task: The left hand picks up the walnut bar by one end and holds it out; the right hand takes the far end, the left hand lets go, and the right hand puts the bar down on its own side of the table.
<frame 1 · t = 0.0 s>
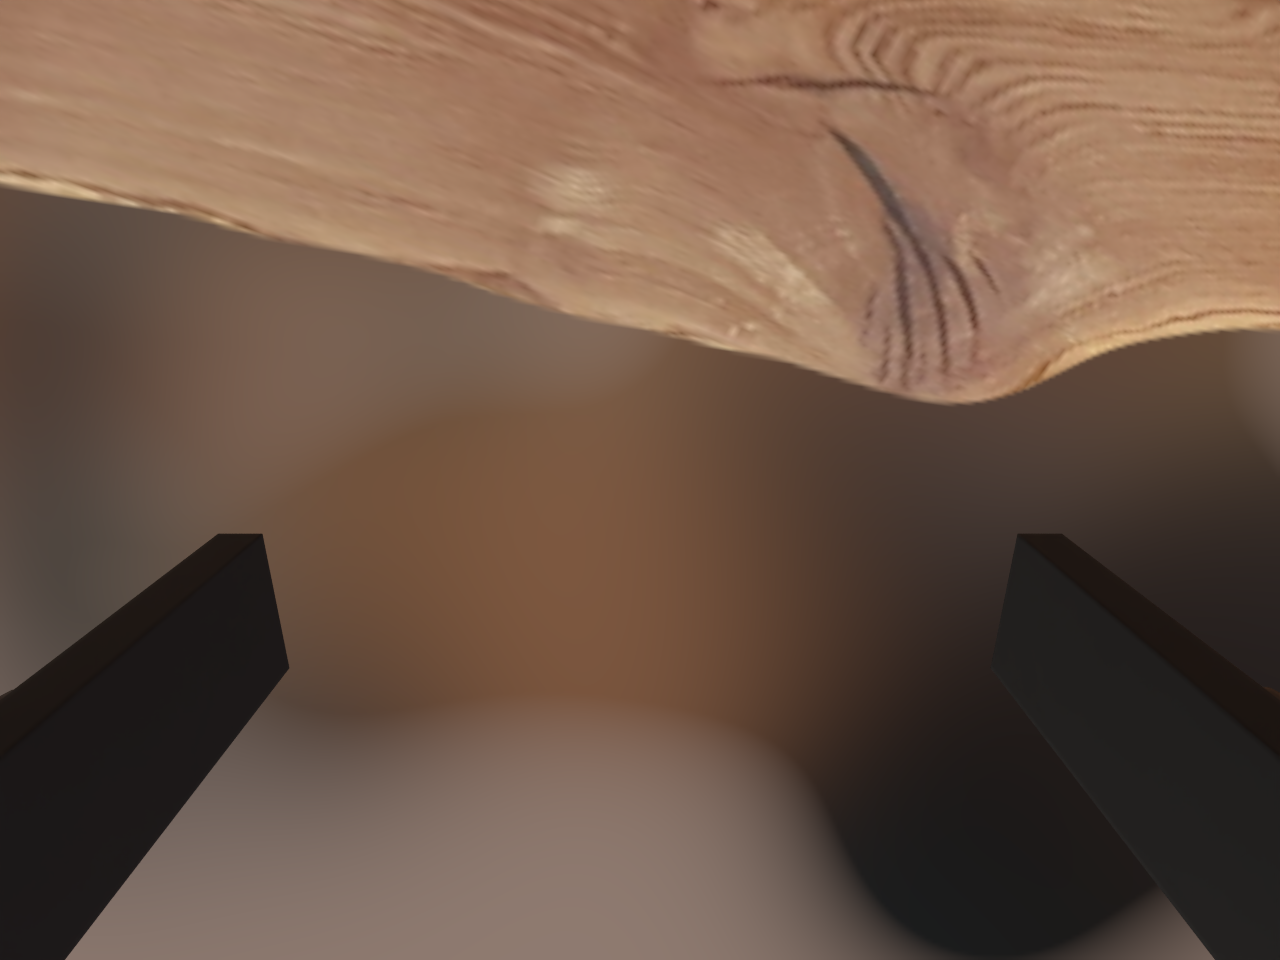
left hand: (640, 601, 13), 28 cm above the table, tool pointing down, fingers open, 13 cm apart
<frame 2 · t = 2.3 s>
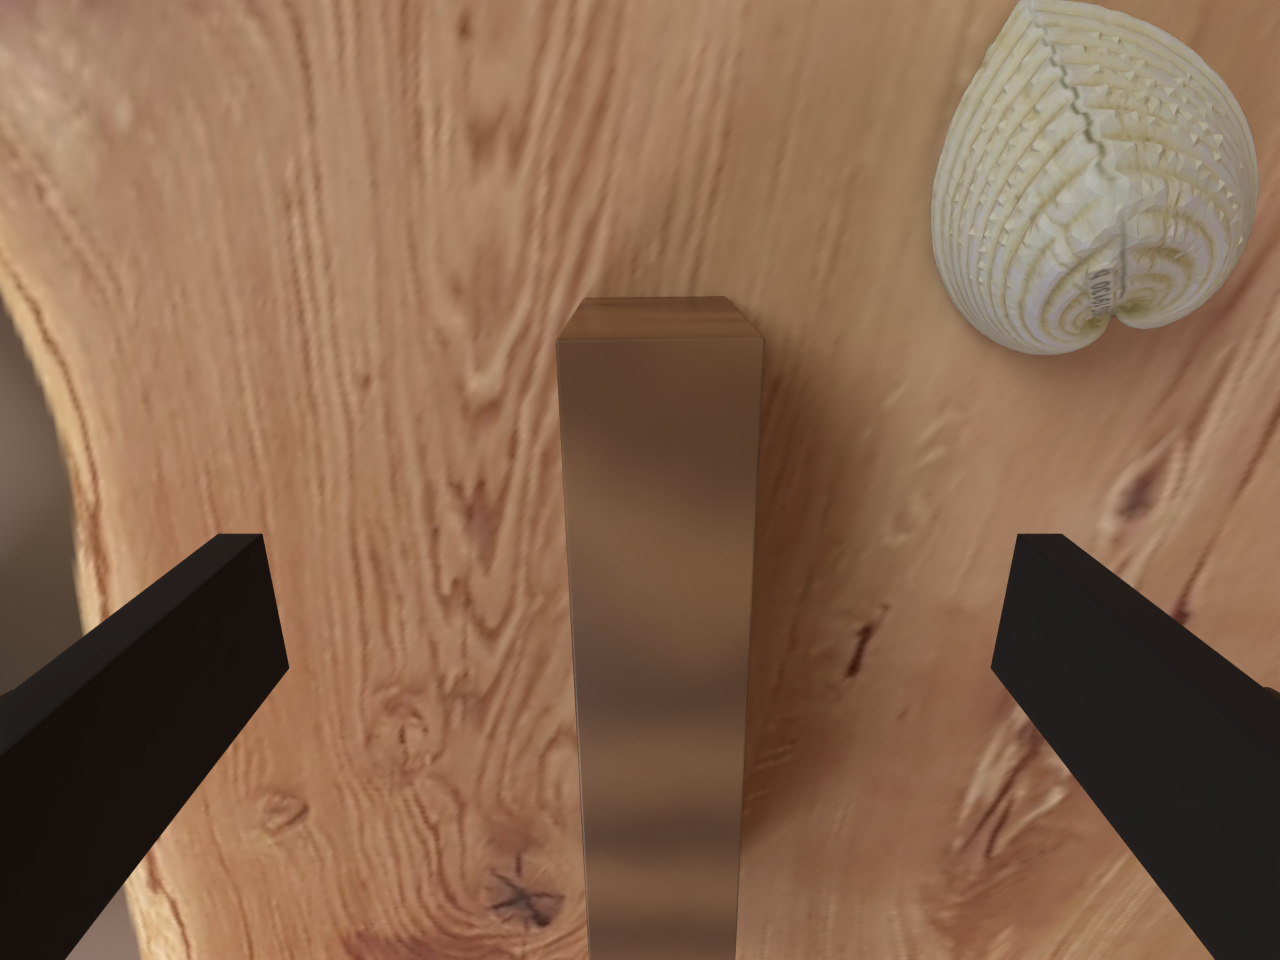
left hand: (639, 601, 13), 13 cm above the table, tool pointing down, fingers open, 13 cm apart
seashell: (1052, 197, 23), on the table
bar: (656, 636, 28), on the table
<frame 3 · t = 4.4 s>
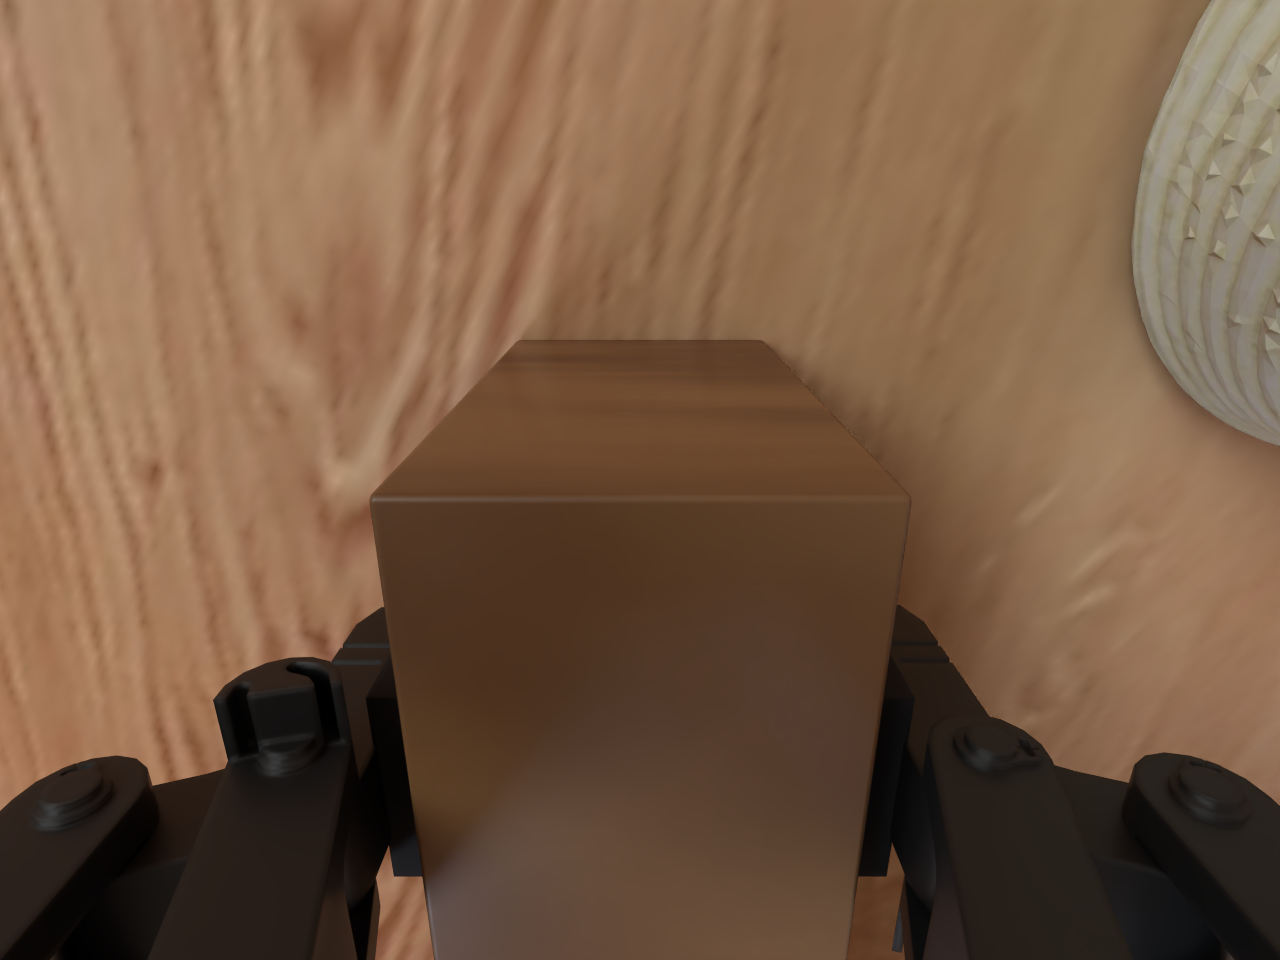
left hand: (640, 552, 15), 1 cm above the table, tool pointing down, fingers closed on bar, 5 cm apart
bar: (640, 854, 18), on the table, touching left hand
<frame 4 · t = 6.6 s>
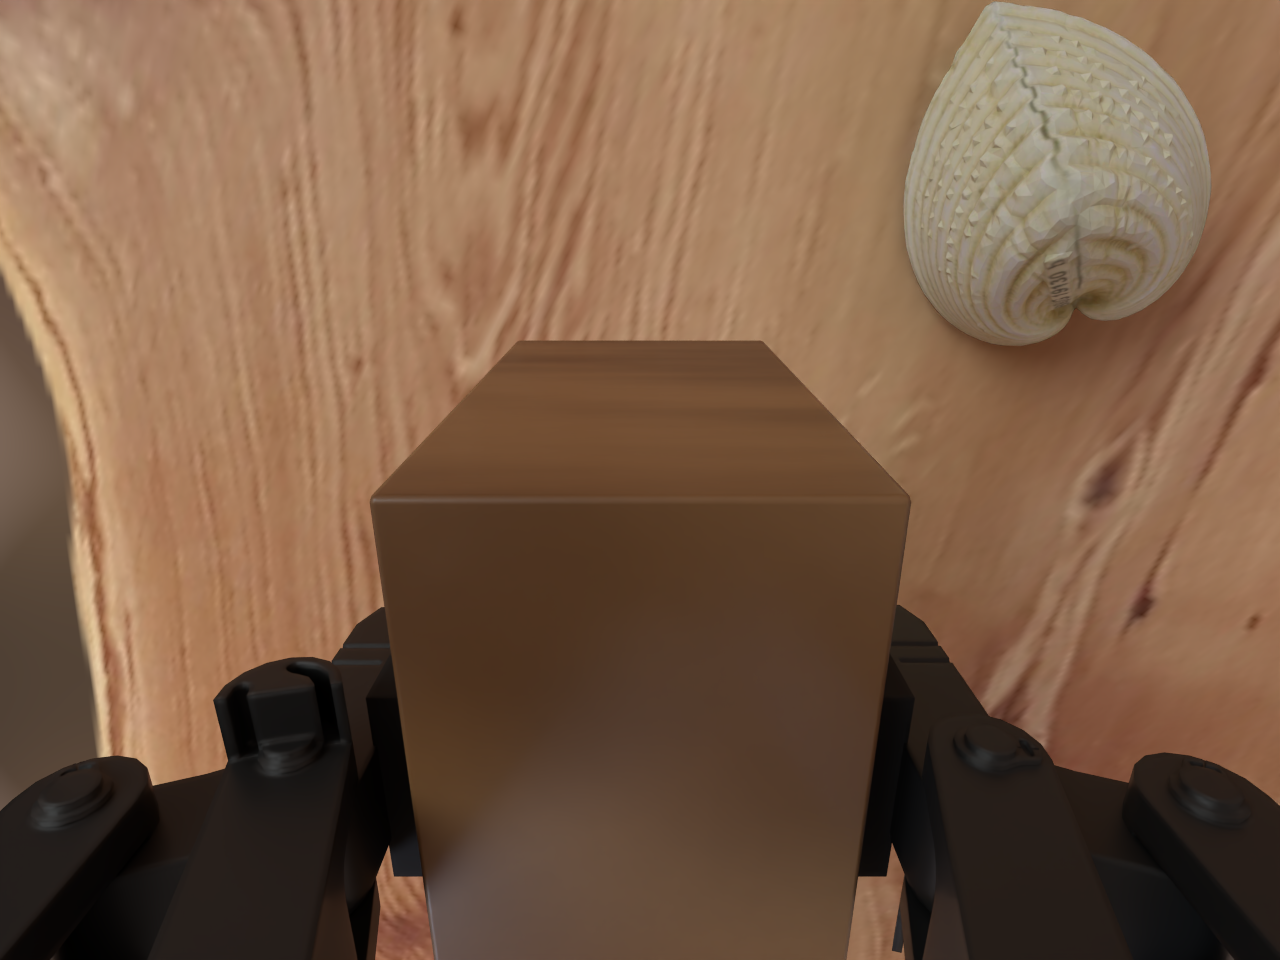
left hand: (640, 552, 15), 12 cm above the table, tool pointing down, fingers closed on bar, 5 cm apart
seashell: (1019, 194, 24), on the table
bar: (640, 854, 18), point 12 cm above the table, touching left hand
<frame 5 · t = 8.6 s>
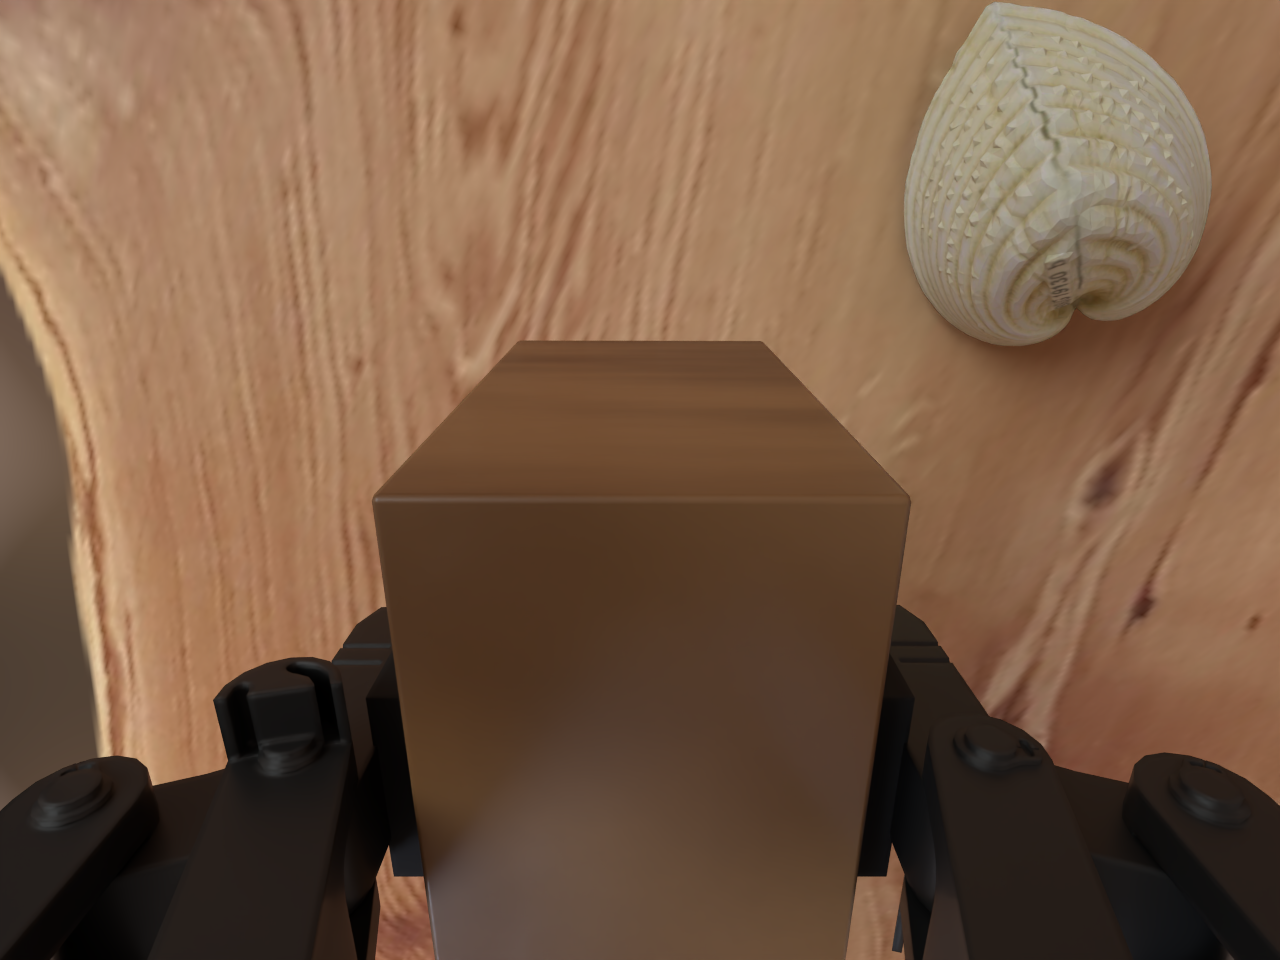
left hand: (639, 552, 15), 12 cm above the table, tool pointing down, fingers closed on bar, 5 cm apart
seashell: (1020, 194, 24), on the table
bar: (639, 853, 18), point 11 cm above the table, touching left hand, right hand
when the left hand's fingers open (12 cm above the table, at t = 9.3 s): bar stays where it is, held by the right hand.
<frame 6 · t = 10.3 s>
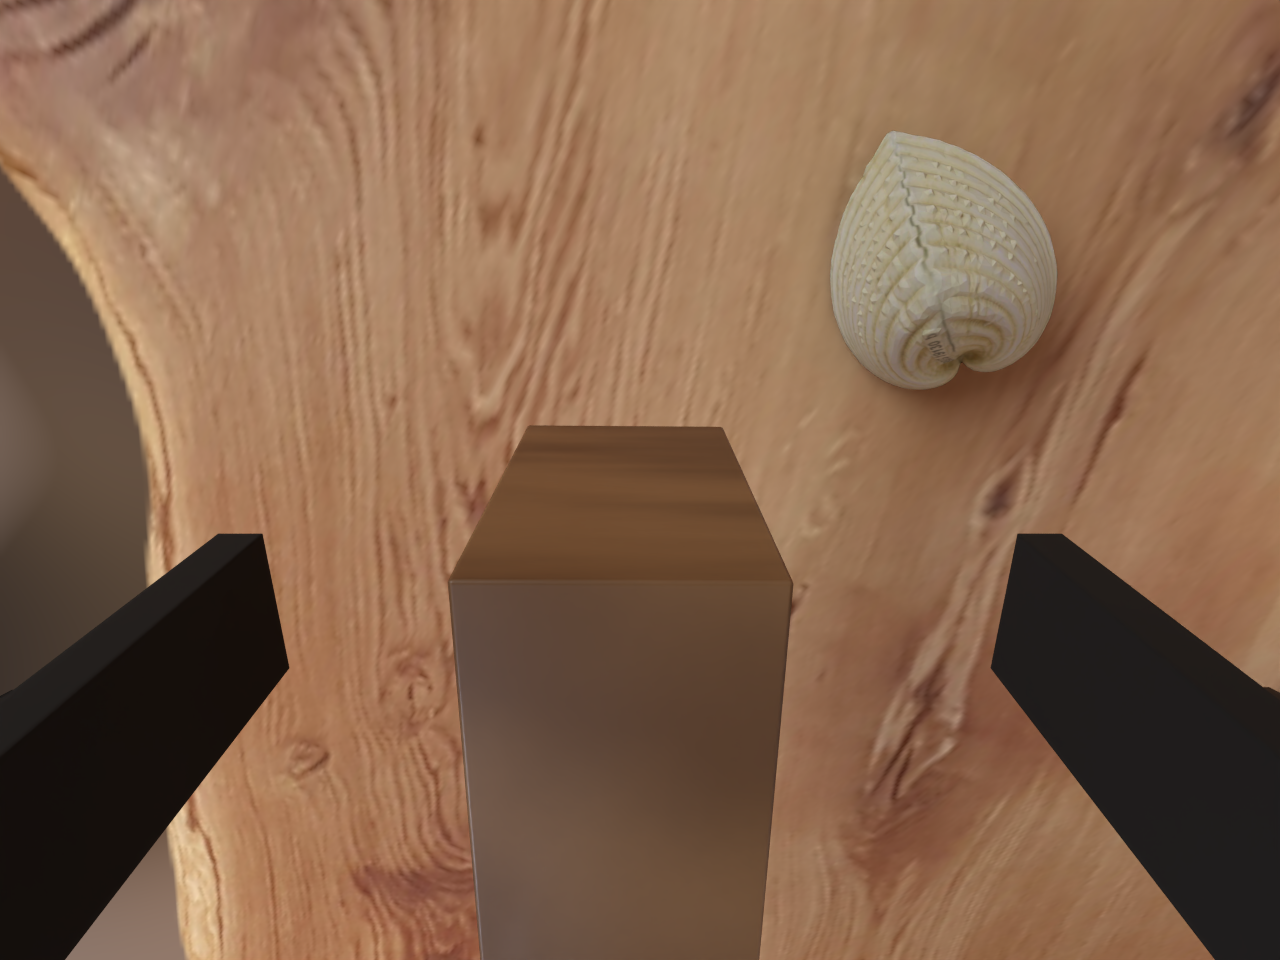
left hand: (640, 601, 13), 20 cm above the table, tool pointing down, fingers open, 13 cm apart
seashell: (922, 270, 30), on the table
bar: (623, 843, 22), point 14 cm above the table, touching right hand
when the right hand's fingers open (4 cm above the table, at t = 14.0 s): bar drops 2 cm, on the table.
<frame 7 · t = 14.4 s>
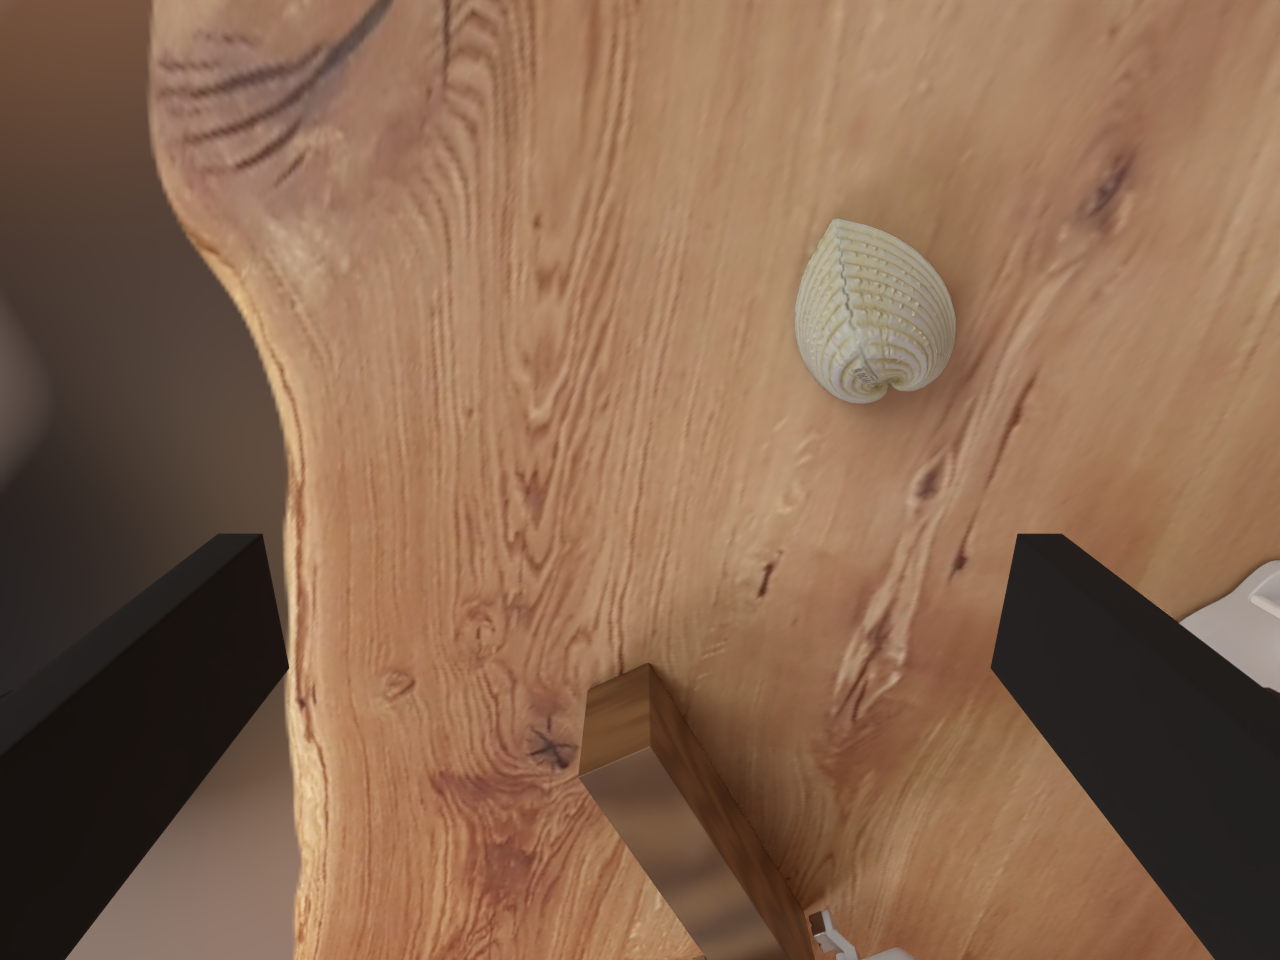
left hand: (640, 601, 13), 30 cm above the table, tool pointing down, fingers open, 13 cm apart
seashell: (863, 314, 40), on the table
bar: (703, 808, 53), on the table
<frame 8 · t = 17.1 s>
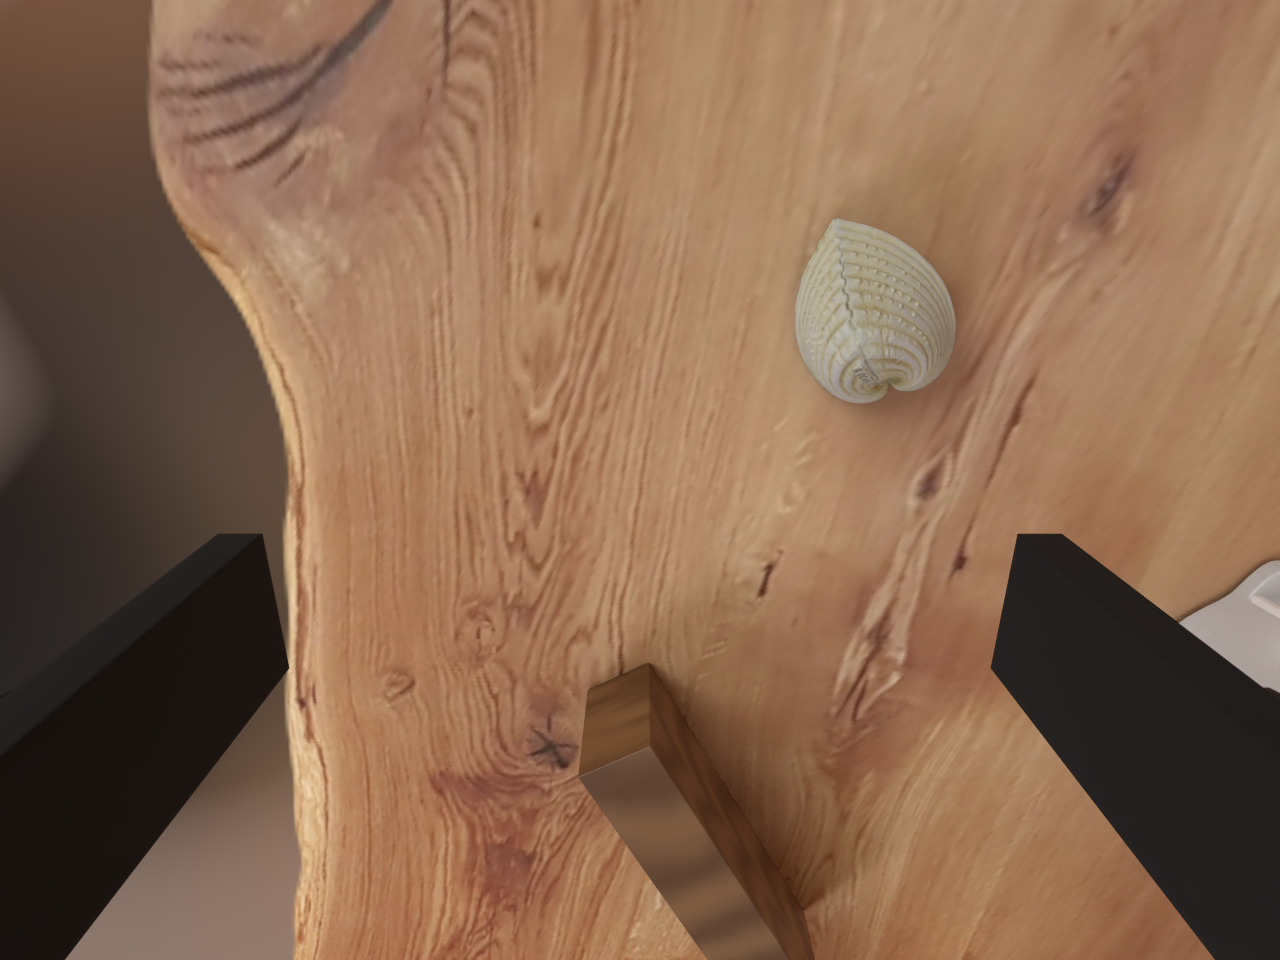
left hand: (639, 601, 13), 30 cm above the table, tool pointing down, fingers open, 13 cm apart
seashell: (863, 314, 40), on the table
bar: (703, 808, 53), on the table
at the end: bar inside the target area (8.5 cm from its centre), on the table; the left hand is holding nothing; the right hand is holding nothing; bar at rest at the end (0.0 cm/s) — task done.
